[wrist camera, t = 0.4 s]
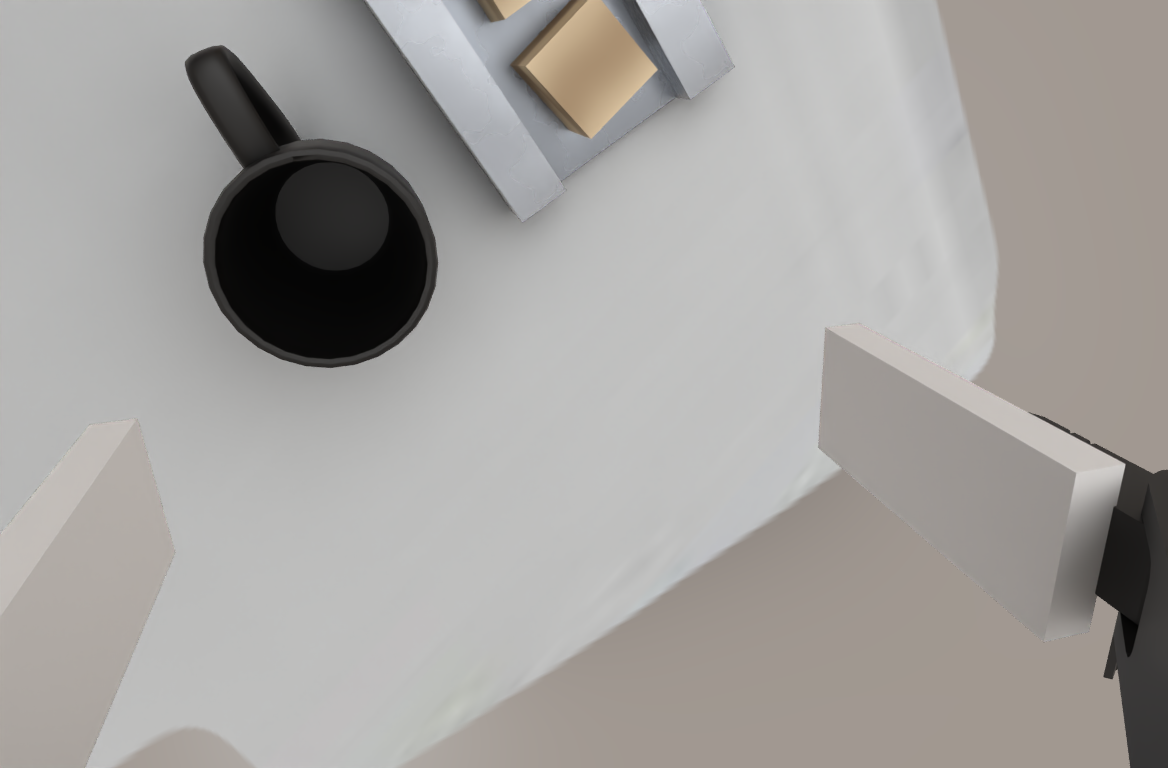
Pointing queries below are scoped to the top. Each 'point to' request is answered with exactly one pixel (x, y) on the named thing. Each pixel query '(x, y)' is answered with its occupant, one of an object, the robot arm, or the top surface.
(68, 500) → the robot arm
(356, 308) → the mug
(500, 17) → the chip
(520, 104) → the slot rail
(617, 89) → the chip
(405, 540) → the top surface
